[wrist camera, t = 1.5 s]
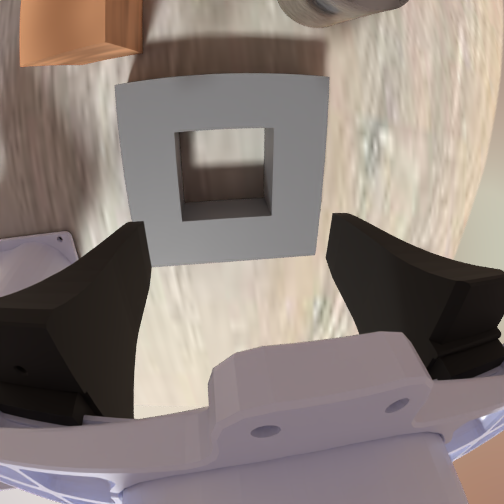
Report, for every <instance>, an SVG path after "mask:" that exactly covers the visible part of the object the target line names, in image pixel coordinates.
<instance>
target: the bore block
mask: <svg viewBox="0 0 504 504" xmlns="http://www.w3.org/2000/svg"><path fill="white" fill-rule="evenodd" d="M115 97H116V109H117V120H118V130H119V139H120V147H121V155H122V163H123V170H124V177H125V184H126V190H127V196H128V202H129V208H130V214H131V219H132V222H136V221H144V225H145V231H146V238H147V243H148V249H149V255H150V260H151V266H152V267H162V266H176V265H190V264H204V263H218V262H231V261H245V260H258V259H271V258H284V257H297V256H310V255H315V252H316V244H317V235H318V226H319V217H320V207H321V197H322V186H323V174H324V162H325V149H326V135H327V118H328V99H329V77H325V76H313V75H298V74H274V73H229V74H205V75H190V76H178V77H168V78H159V79H151V80H143V81H136V82H130V83H124V84H118V85H115ZM236 128H265V142H264V198H252V199H234V200H218V201H203V202H190V203H185V201H184V190H183V179H182V167H181V154H180V140H179V132H185V131H198V130H214V129H236Z"/></svg>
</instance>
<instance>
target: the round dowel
mask: <svg viewBox="0 0 504 504" xmlns="http://www.w3.org/2000/svg"><path fill="white" fill-rule="evenodd" d="M408 1H409V0H278V3H279V5H280V7H281V8H282V10H283V11H284V12H285V13H286V14H287V15H288V16H289V17H290V18H291V19H293V20H294V21H296V22H297V23H299V24H302V25H304V26H308V27H313V28H324V27H329V26H332V25H335V24H338V23H342V22H345V21H349V20H352V19H356V18H359V17H363V16H367V15H371V14H375V13H379V12H384V11H388V10H393V9H396V8H399V7H401V6H403V5H404V4H406V3H407V2H408Z"/></svg>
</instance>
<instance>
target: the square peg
mask: <svg viewBox="0 0 504 504" xmlns="http://www.w3.org/2000/svg"><path fill="white" fill-rule="evenodd" d="M142 4H143V0H21V8H20V37H19V45H20V67H27V66H45V65H84V64H88V63H93V62H97V61H102V60H107V59H112V58H117V57H123V56H128V55H135V54H141V53H143V39H142Z"/></svg>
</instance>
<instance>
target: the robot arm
mask: <svg viewBox="0 0 504 504" xmlns="http://www.w3.org/2000/svg"><path fill="white" fill-rule="evenodd" d="M59 237H61V238H62V239H63V240H61V239H59ZM326 260H327V263H328V266H329V269H330V272H331V275H332V277H333V279H334V282H335V284H336V286H337V288H338V289H339V291H340V293H341V295H342V297H343V299H344V301H345V303H346V305H347V307H348V309H349V311H350V313H351V315H352V317H353V319H354V321H355V324H356V326H357V329H358V332H359V335H353V336H346V337H339V338H332V339H324V340H316V341H308V342H299V343H290V344H280V345H269V346H261V347H257V348H253V349H249V350H245V351H241V352H236V353H235V354H233V355H231V356H230V357H229V358H227V359H226V360H224V361H223V362H221V363H220V364H219V365H217V366H216V367H214V368H213V370H212V373H211V376H210V379H209V382H208V398H209V406H207V407H203V408H198V409H194V410H188V411H184V412H178V413H173V414H167V415H161V416H155V417H149V418H143V419H134V414H133V413H134V411H133V410H134V369H135V355H136V344H137V338H138V332H139V328H140V324H141V320H142V316H143V311H144V307H145V303H146V299H147V295H148V291H149V286H150V278H151V268H152V266H151V260H150V255H149V249H148V243H147V238H146V231H145V225H144V221H136V222H128V223H126V224H124V225H123V226H122V227H120V228H119V229H118V230H116V231H115V232H114V233H113V234H111V235H110V236H109V237H108V238H106V239H105V240H104V241H103V242H102V243H100V244H99V245H98V246H96V247H95V248H94V249H92V250H91V251H90V252H88V253H87V254H86V255H84V256H83V257H82V258H80V259H79V258H78V255H77V252H76V248H75V245H74V242H73V238H72V235H71V234H70V233H69V232H67V231H61V232H53V233H44V234H36V235H28V236H20V237H13V238H5V239H0V491H2V490H9V489H16V488H18V489H21V490H23V491H26V492H29V493H32V494H35V495H37V496H40V497H43V498H46V499H49V500H52V501H55V502H59V503H62V504H469V503H468V500H467V498H466V495H465V493H464V490H463V488H462V485H461V483H460V480H459V478H458V475H457V473H456V470H455V468H454V466H453V463H452V462H453V461H455V460H456V459H458V458H460V457H462V456H463V455H465V454H467V453H469V452H470V451H472V450H474V449H475V448H477V447H478V446H480V445H482V444H483V443H485V442H486V441H488V440H490V439H491V438H492V437H494V436H496V435H497V434H499V433H500V432H502V431H503V430H504V344H503V345H502V344H501V342H500V341H499V340H498V338H500V336H501V332H500V330H499V329H498V328H497V326H498V324H499V322H500V321H501V319H502V317H503V315H504V272H503V271H502V270H500V269H494V268H487V267H481V266H475V265H471V264H467V263H463V262H458V261H455V260H451V259H448V258H445V257H442V256H439V255H436V254H433V253H430V252H428V251H425V250H423V249H420V248H418V247H415V246H413V245H411V244H409V243H406V242H404V241H402V240H400V239H398V238H396V237H394V236H392V235H390V234H388V233H387V232H385V231H383V230H381V229H379V228H377V227H375V226H373V225H372V224H370V223H368V222H366V221H364V220H362V219H360V218H358V217H356V216H354V215H351V214H348V213H333V214H332V221H331V228H330V234H329V241H328V247H327V253H326Z"/></svg>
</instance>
